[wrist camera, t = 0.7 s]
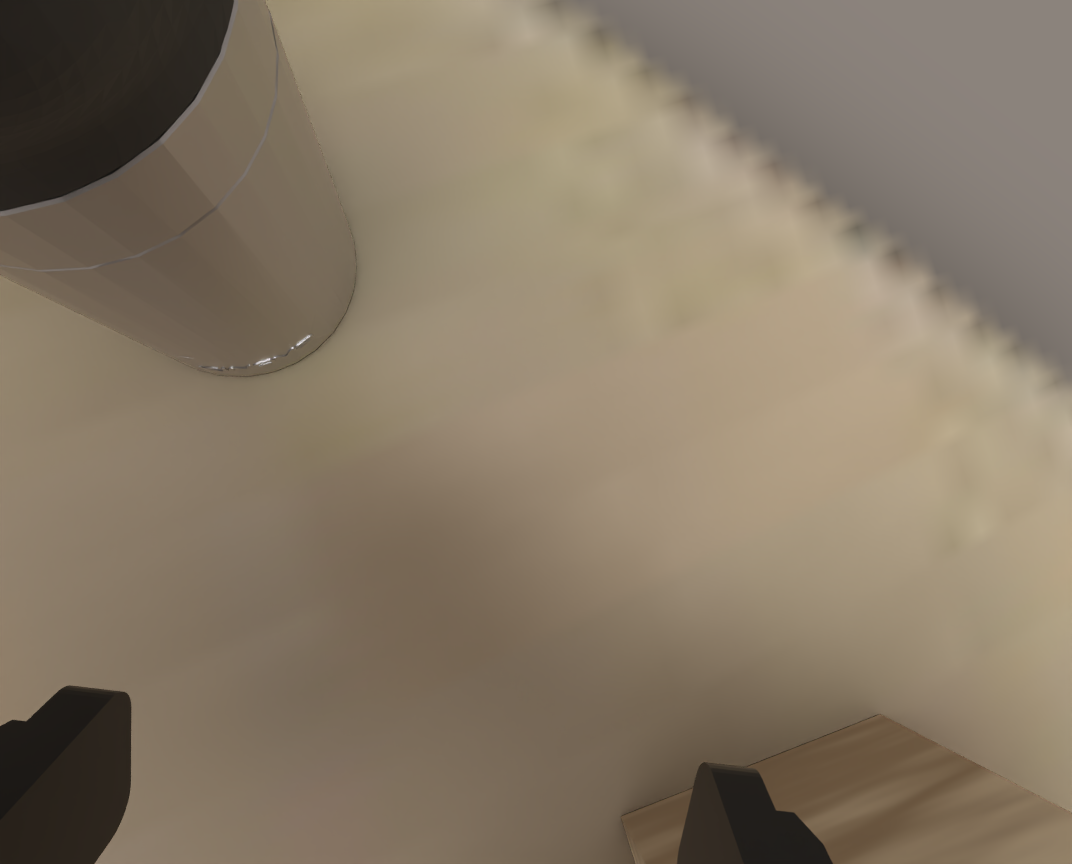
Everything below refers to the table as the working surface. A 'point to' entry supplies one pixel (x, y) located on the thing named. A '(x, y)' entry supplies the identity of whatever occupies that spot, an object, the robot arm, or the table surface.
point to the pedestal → (886, 804)
